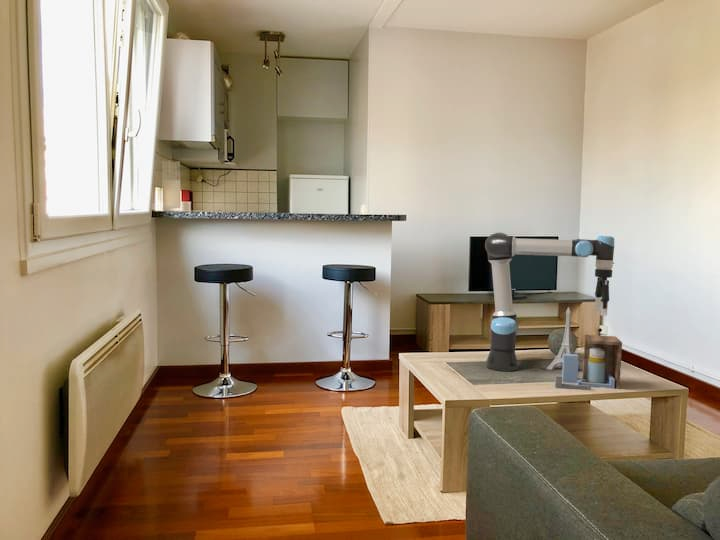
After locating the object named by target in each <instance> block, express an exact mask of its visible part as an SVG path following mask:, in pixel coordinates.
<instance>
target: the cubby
mask: <svg viewBox="0 0 720 540" xmlns="http://www.w3.org/2000/svg"><path fill="white" fill-rule="evenodd" d="M583 346H584V347H583V348H584V349H583V350H584V352H583V364H582V366H583V370H582V380H587V374H588V359H589V356H590V349H591V348H599V349H604V350H605V355H604V356H605V357H604V358H605V377H604V382H606V375H607V373H610V374H611V375H612V376H613V378H614V379H615V385H614V388H615V387H616V388H615V389H616V390H620V388H621V387H620V386H621V382H620V381H621V372H622V371H621V368H622V352H623V351H622V350H623V342H622V341H621V340H620V339H619V337H617V336H616V335H615V336H613V335H597V334H584V345H583Z"/></svg>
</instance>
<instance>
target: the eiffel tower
mask: <svg viewBox="0 0 720 540" xmlns="http://www.w3.org/2000/svg"><path fill="white" fill-rule="evenodd" d="M571 315H572V311H571V308H570V307H567V309H566V311H565V317H566V318H565V327H564V328H565V333H564V338H563V343H562V344H561V345H562V347H561V349H560V351H559V353H558V355H557V356H556V355H555V356H554V359H553V360H552V361H551V363H550V364H549V365H548V366H547V367H546V369H545V370H550V371H551V370H554V369H555V366H561V367H563V353H564V354H576V353H575V352H574V351H573V348H572V345H573V344H572V343H571V332H570V331H571V317H572V316H571ZM578 370H581V371H583V364H582V363H581V362H580V361H579V359H578Z"/></svg>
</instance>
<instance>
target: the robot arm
mask: <svg viewBox="0 0 720 540" xmlns="http://www.w3.org/2000/svg"><path fill="white" fill-rule="evenodd" d="M484 242H485V243H484V248H485V251H486V252H487V253H486V254H487V260H488V262H489V263H490V264H491V273H492V284H493V285H492V287H493V296H494V297H493V298H494V299H493V300H494V310H495V311H494V312H493V313H492V320H491V323H490V346H489V347H490V350H489V353H488V355H487V359H486V361H485V362H486V363H485V366H487V367H488V369H489V368H491V369H490V370H492V369H494V370H493V371H497V370H499V371H500V372H515V371H517V370H519V362H518V359H517V354H516V337H517V334H518V331H519V324H518V320H517V317H518V316H517V312H516V311H515V310H514V308H513V307H514V306H513V295H512V294H513V293H512V284H511V283H512V282H511V270H510V269H511V267H510V262H511V261H512V260H513V258H512V257H514V256H515V255H521V256H522V255H523V256H524V255H526V256H550V257H551V256H554V257H555V256H556V257H577V258H579V257H580V258H588V257H591V256H592V257H593V256H596V257H595V269H594V277H595V278H597V280H596V285H595V286H596V287H595V291H594V296H595V300H594V301H595V303H594V311H597V312H600V316H604V317H605V316H608V305H609V301H610V280H609V278H610V279H611V278H612V277H613V270H612V269H613V267H614V264H615V262H614V254H615V253H614V251H615V238H614V237H613V236H611V235H610V236H609V235H599V236H597V238H596V239H585V238H584V239H582V238H581V239H580V238H575V239H554V238H553V239H551V238H549V239H547V238H546V239H545V238H544V239H543V238H517V237H515V236H514V235H508V234H506V233H504V232H494V233H492V234H490V235H489V236H487V238H486V240H485V241H484ZM487 367H486V368H487ZM499 371H498V372H499Z"/></svg>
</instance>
